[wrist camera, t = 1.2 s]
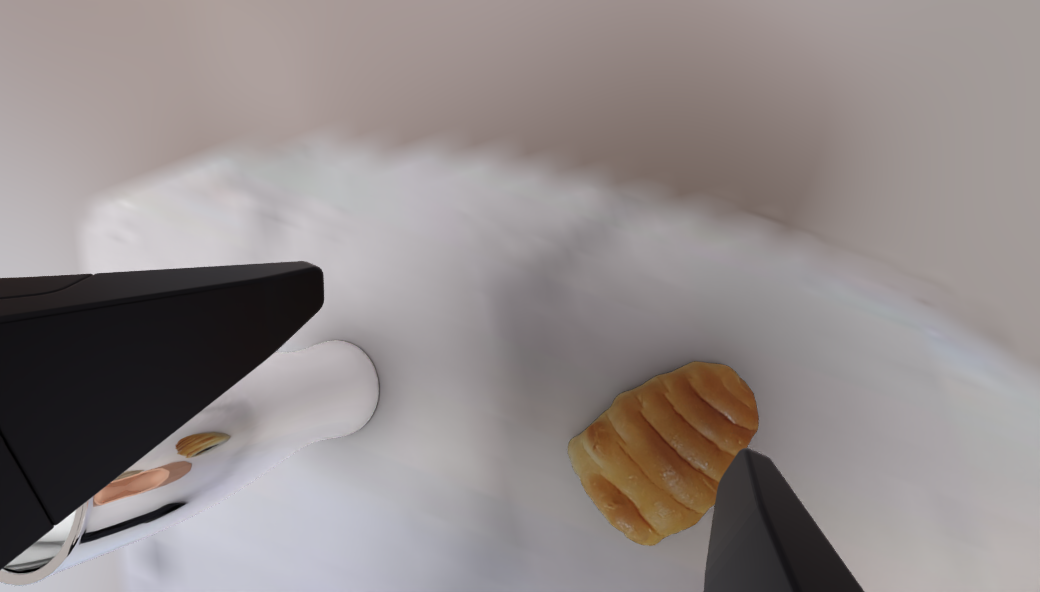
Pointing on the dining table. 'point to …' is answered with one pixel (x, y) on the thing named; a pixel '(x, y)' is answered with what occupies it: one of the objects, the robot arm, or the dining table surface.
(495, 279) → the dining table surface
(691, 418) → the pastry
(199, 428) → the beer glass
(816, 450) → the dining table surface
